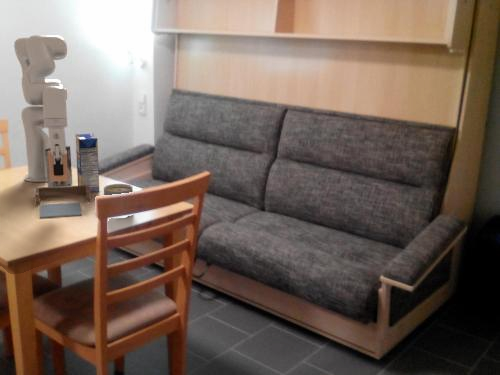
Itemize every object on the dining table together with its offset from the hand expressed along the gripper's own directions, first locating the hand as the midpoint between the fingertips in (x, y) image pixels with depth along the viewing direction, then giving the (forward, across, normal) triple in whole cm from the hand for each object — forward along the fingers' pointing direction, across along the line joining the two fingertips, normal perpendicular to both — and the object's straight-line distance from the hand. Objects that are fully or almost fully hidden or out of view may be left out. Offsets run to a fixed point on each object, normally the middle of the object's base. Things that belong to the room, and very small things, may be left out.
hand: (58, 172), depth 190 cm
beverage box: (+14, +26, -11) cm, 32 cm away
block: (+2, 0, 0) cm, 2 cm away
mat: (+14, 0, 0) cm, 14 cm away
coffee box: (+14, +34, 0) cm, 37 cm away
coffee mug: (+15, -10, -20) cm, 26 cm away
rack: (+14, +12, -1) cm, 19 cm away
